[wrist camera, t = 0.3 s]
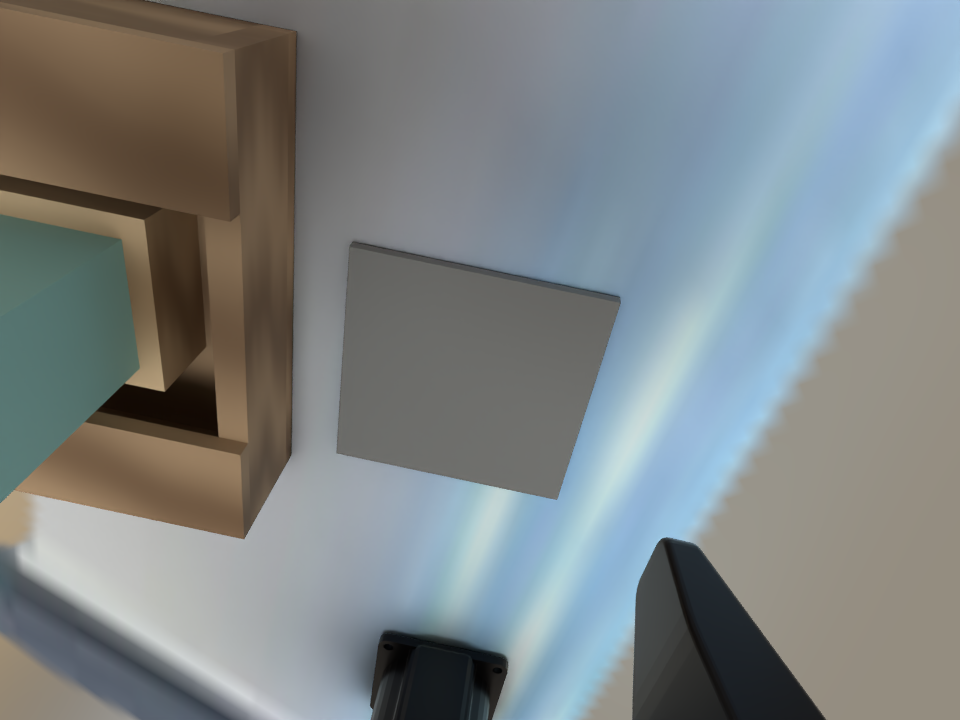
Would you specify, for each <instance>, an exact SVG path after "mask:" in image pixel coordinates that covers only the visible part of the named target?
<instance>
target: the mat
mask: <svg viewBox="0 0 960 720" xmlns="http://www.w3.org/2000/svg"><path fill="white" fill-rule="evenodd" d="M620 303H621V302H620V297H615V296H610V295H605V294H601V293H596V292H591V291H586V290H581V289H577V288H572V287H567V286H562V285H557V284H552V283H548V282H543V281H538V280H533V279H528V278H523V277H519V276H514V275H509V274H504V273H499V272H495V271H490V270H485V269H480V268H475V267H470V266H466V265H461V264H456V263H451V262H446V261H442V260H437V259H432V258H427V257H422V256H417V255H413V254H408V253H403V252H398V251H393V250H388V249H384V248H379V247H374V246H369V245H364V244H360V243H355V242H353V243H352V244H351V245H350V247H349V262H348V278H347V294H346V310H345V326H344V342H343V358H342V374H341V390H340V406H339V422H338V438H337V453H338V454H343V455H347V456H352V457H357V458H362V459H366V460H371V461H376V462H380V463H385V464H390V465H395V466H399V467H404V468H409V469H414V470H418V471H423V472H428V473H432V474H437V475H442V476H447V477H451V478H456V479H461V480H466V481H470V482H475V483H480V484H484V485H489V486H494V487H499V488H503V489H508V490H513V491H517V492H522V493H527V494H532V495H536V496H541V497H546V498H551V499H555V500H557V498H558V495H559V492H560V489H561V486H562V483H563V480H564V477H565V474H566V470H567V467H568V464H569V461H570V458H571V455H572V452H573V449H574V446H575V443H576V439H577V436H578V433H579V430H580V427H581V424H582V421H583V418H584V415H585V412H586V409H587V405H588V402H589V399H590V396H591V393H592V390H593V387H594V384H595V381H596V378H597V375H598V371H599V368H600V365H601V362H602V359H603V356H604V353H605V350H606V347H607V344H608V340H609V337H610V334H611V331H612V328H613V325H614V322H615V319H616V316H617V313H618V310H619V306H620Z"/></svg>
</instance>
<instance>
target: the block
mask: <svg viewBox="0 0 960 720" xmlns="http://www.w3.org/2000/svg"><path fill="white" fill-rule="evenodd" d="M139 369H140V366H139V359H138V352H137V344H136V337H135V330H134V323H133V316H132V309H131V302H130V295H129V288H128V281H127V274H126V267H125V260H124V253H123V246H122V239H117V238H112V237H108V236H103V235H98V234H93V233H88V232H84V231H79V230H74V229H69V228H64V227H60V226H55V225H50V224H45V223H40V222H36V221H31V220H26V219H21V218H16V217H12V216H7V215H2V214H0V503H1V502H2V501H3V500H4V499H5V498H6V497H7V496H8V495H9V494H10V493H11V492H12V491H13V490H14V489H16V488H17V487H18V486H19V485H20V484H21V483H22V482H23V481H24V480H25V479H26V478H27V477H28V476H29V475H30V474H31V473H32V472H33V471H34V470H35V469H36V468H37V467H38V466H39V465H40V464H41V463H42V462H44V461H45V460H46V459H47V458H48V457H49V456H50V455H51V454H52V453H53V452H54V451H55V450H56V449H57V448H58V447H59V446H60V445H61V444H62V443H63V442H64V441H65V440H66V439H67V438H68V437H69V436H70V435H71V434H73V433H74V432H75V431H76V430H77V429H78V428H79V427H80V426H81V425H82V424H83V423H84V422H85V421H86V420H87V419H88V418H89V417H90V416H91V415H92V414H93V413H94V412H95V411H96V410H97V409H98V408H99V407H100V406H102V405H103V404H104V403H105V402H106V401H107V400H108V399H109V398H110V397H111V396H112V395H113V394H114V393H115V392H116V391H117V390H118V389H119V388H120V387H121V386H122V385H123V384H124V383H125V382H126V381H127V380H128V379H130V378H131V377H132V376H133V375H134V374H135V373H136V372H137V371H138V370H139Z"/></svg>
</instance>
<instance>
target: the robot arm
mask: <svg viewBox="0 0 960 720" xmlns="http://www.w3.org/2000/svg"><path fill="white" fill-rule="evenodd" d="M507 670H508V662H507V661H506V660H505V659H503V658H501V657H496V656H492V655H487V654H482V653H478V652H473V651H468V650H464V649H459V648H454V647H450V646H445V645H440V644H436V643H431V642H426V641H422V640H417V639H413V638H408V637H403V636H399V635H394V634H383V635H382V636H381V638H380V641H379V645H378V652H377V659H376V667H375V674H374V681H373V688H372V696H371V703H370V706H371V708H372V709H373V713H372V717H371V720H492V717H493V714H494V711H495V708H496V705H497V702H498V699H499V696H500V693H501V690H502V687H503V684H504V681H505V678H506V675H507ZM632 718H633V719H632V720H826V719H825V717H824V716H823V715H822V713H821V712H820V710H819V709H818V708H817V706H816V705H815V704H814V702H813V701H812V700H811V698H810V697H809V696H808V694H807V693H806V692H805V690H804V689H803V687H802V686H801V685H800V683H799V682H798V681H797V679H796V678H795V677H794V675H793V674H792V672H791V671H790V670H789V668H788V667H787V666H786V665H785V663H784V662H783V660H782V659H781V658H780V656H779V655H778V654H777V652H776V651H775V649H774V648H773V647H772V646H771V644H770V643H769V641H768V640H767V639H766V637H765V636H764V635H763V633H762V632H761V630H760V629H759V628H758V626H757V625H756V624H755V622H754V621H753V620H752V618H751V617H750V616H749V614H748V613H747V611H746V610H745V609H744V607H743V606H742V605H741V604H740V602H739V601H738V599H737V598H736V597H735V596H734V594H733V593H732V591H731V590H730V588H729V587H728V586H727V584H726V583H725V582H724V580H723V579H722V578H721V576H720V575H719V574H718V572H717V571H716V569H715V568H714V567H713V566H712V564H711V563H710V561H709V560H708V559H707V557H706V556H705V555H704V553H703V552H702V550H701V549H700V548H699V547H698V546H697V545H695V544H693V543H690V542H686V541H682V540H677V539H673V538H668V537H667V538H662V539H661V540H660V541H659V542H658V544H657V545H656V547H655V549H654V551H653V553H652V555H651V558H650V560H649V562H648V564H647V566H646V568H645V570H644V572H643V574H642V576H641V578H640V580H639V583H638V587H637V593H636V607H635V640H634V673H633V717H632Z"/></svg>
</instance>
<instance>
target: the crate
mask: <svg viewBox="0 0 960 720" xmlns="http://www.w3.org/2000/svg"><path fill="white" fill-rule="evenodd" d="M296 32H297V31H292V30H287V29H282V28H277V27H272V26H267V25H263V24H258V23H253V22H248V21H243V20H238V19H233V18H228V17H223V16H218V15H213V14H208V13H204V12H199V11H194V10H189V9H184V8H179V7H174V6H169V5H164V4H159V3H154V2H149V1H145V0H0V214H2V215H7V216H12V217H16V218H21V219H26V220H31V221H36V222H40V223H45V224H50V225H55V226H60V227H64V228H69V229H74V230H79V231H84V232H88V233H93V234H98V235H103V236H108V237H112V238H117V239H122V246H123V253H124V260H125V267H126V274H127V281H128V288H129V295H130V302H131V309H132V316H133V323H134V330H135V337H136V344H137V352H138V359H139V366H140V369H139V370H138V371H137V372H136V373H135V374H134V375H133V376H132V377H131V378H130V379H128V380H127V381H126V382H125V383H124V384H123V385H122V386H121V387H120V388H119V389H118V390H117V391H116V392H115V393H114V394H113V395H112V396H111V397H110V398H109V399H108V400H107V401H106V402H105V403H104V404H103V405H102V406H100V407H99V408H98V409H97V410H96V411H95V412H94V413H93V414H92V415H91V416H90V417H89V418H88V419H87V420H86V421H85V422H84V423H83V424H82V425H81V426H80V427H79V428H78V429H77V430H76V431H75V432H74V433H73V434H71V435H70V436H69V437H68V438H67V439H66V440H65V441H64V442H63V443H62V444H61V445H60V446H59V447H58V448H57V449H56V450H55V451H54V452H53V453H52V454H51V455H50V456H49V457H48V458H47V459H46V460H45V461H44V462H42V463H41V464H40V465H39V466H38V467H37V468H36V469H35V470H34V471H33V472H32V473H31V474H30V475H29V476H28V477H27V478H26V479H25V480H24V481H23V482H22V483H21V484H20V485H19V486H18V487H17V488H16V489H14V490H16V491H21V492H25V493H30V494H35V495H40V496H44V497H49V498H54V499H58V500H63V501H68V502H72V503H77V504H82V505H86V506H91V507H96V508H100V509H105V510H110V511H114V512H119V513H124V514H128V515H133V516H138V517H142V518H147V519H152V520H156V521H161V522H166V523H170V524H175V525H180V526H185V527H189V528H194V529H199V530H203V531H208V532H213V533H217V534H222V535H227V536H231V537H236V538H241V539H244V538H245V537H246V535H247V533H248V531H249V530H250V528H251V526H252V524H253V522H254V521H255V519H256V517H257V515H258V513H259V512H260V510H261V508H262V506H263V505H264V503H265V501H266V499H267V497H268V496H269V494H270V492H271V490H272V488H273V487H274V485H275V483H276V481H277V480H278V478H279V476H280V474H281V472H282V471H283V469H284V467H285V465H286V463H287V462H288V460H289V458H290V456H291V433H292V353H293V272H294V192H295V112H296Z"/></svg>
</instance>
